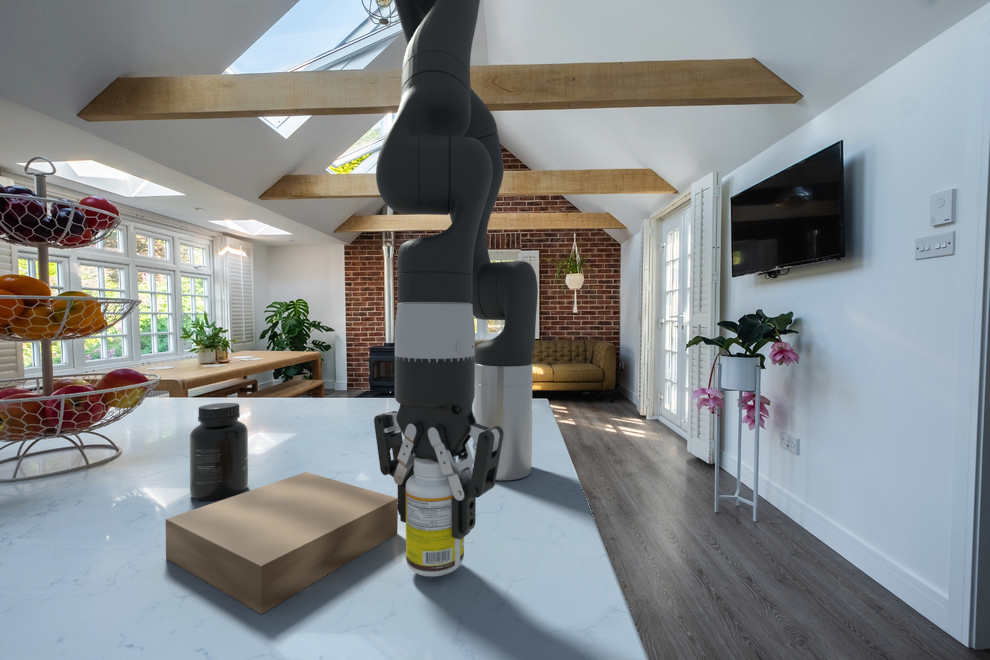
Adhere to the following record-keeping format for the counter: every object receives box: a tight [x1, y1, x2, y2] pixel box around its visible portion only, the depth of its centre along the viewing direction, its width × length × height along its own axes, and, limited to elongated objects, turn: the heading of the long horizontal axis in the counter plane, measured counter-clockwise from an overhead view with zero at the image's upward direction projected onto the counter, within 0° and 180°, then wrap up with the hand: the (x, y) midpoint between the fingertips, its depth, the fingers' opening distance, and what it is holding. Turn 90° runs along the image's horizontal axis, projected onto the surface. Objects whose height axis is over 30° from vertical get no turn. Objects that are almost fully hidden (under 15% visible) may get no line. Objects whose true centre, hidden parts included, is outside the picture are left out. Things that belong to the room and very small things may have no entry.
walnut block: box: [165, 471, 399, 615], centre depth 47 cm, size 16×16×4 cm
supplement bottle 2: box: [405, 456, 465, 577], centre depth 42 cm, size 6×6×10 cm
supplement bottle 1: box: [189, 402, 249, 501], centre depth 61 cm, size 7×7×12 cm
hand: (435, 526), depth 42 cm, fingers closed on supplement bottle 2, 5 cm apart
